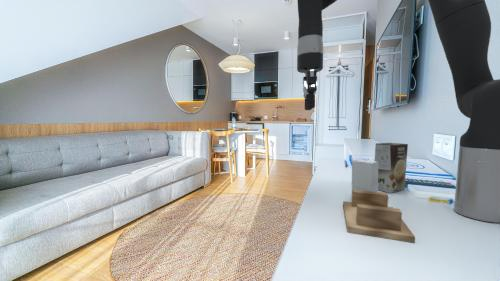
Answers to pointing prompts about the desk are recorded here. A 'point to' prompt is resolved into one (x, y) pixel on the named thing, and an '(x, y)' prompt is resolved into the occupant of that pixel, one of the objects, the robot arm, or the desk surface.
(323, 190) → the desk surface
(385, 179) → the coffee box
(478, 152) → the robot arm
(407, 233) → the oak cradle board
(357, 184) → the skincare box
